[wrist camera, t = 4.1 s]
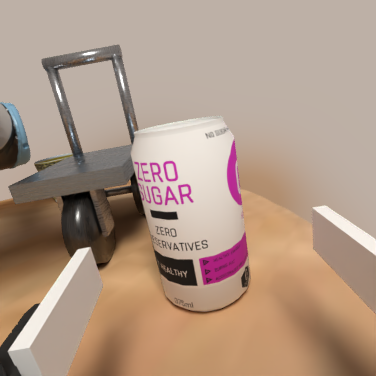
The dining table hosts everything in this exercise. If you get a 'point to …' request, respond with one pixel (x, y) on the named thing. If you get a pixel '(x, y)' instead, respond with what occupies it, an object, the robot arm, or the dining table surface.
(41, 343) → the robot arm
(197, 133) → the supplement can
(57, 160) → the ceramic cup
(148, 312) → the dining table surface
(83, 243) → the trolley
